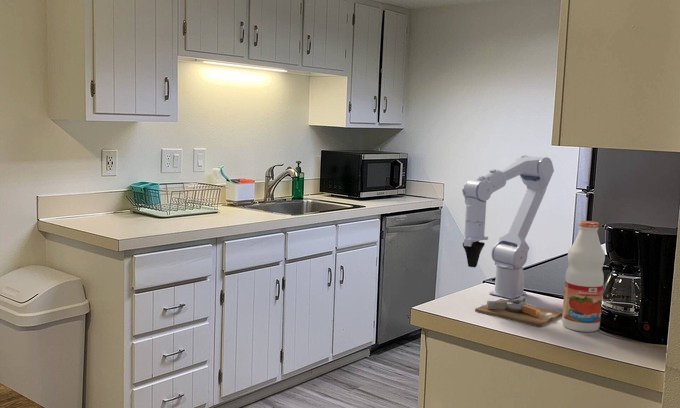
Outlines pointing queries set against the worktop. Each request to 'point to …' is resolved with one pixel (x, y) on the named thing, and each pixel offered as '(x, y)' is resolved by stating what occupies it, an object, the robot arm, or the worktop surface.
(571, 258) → the fruit juice
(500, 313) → the board
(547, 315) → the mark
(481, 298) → the worktop surface
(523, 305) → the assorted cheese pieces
